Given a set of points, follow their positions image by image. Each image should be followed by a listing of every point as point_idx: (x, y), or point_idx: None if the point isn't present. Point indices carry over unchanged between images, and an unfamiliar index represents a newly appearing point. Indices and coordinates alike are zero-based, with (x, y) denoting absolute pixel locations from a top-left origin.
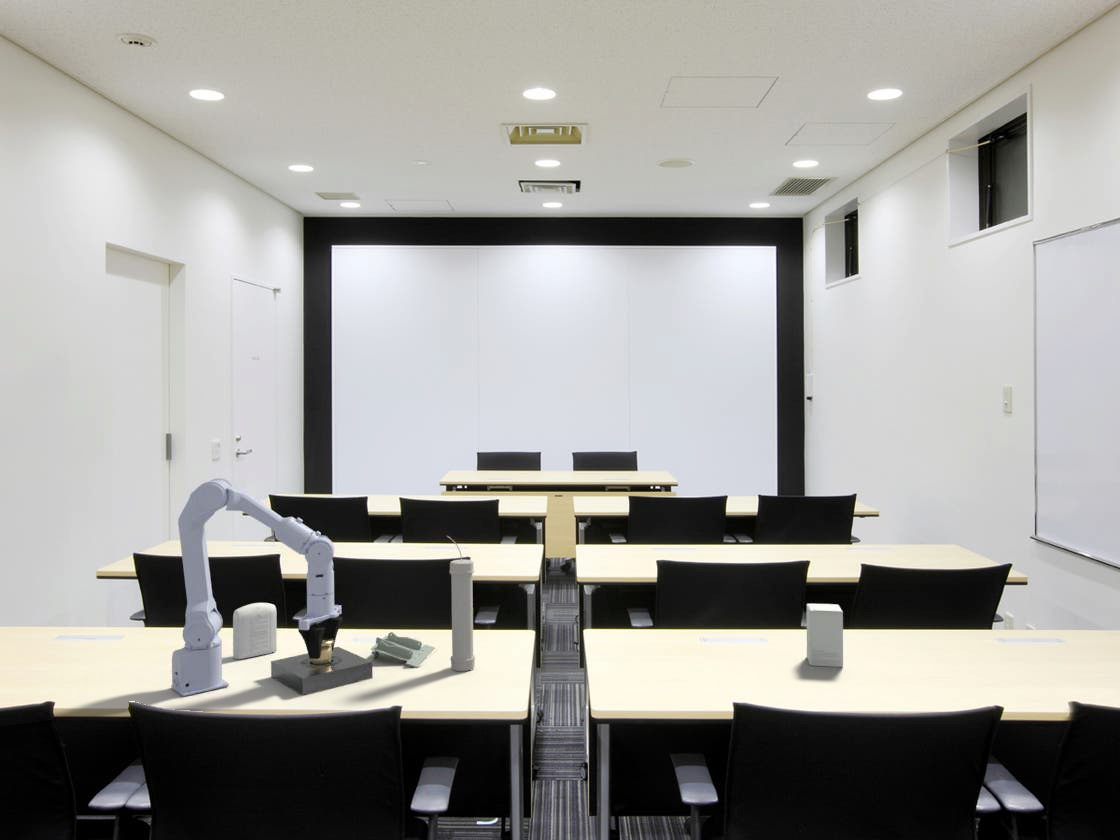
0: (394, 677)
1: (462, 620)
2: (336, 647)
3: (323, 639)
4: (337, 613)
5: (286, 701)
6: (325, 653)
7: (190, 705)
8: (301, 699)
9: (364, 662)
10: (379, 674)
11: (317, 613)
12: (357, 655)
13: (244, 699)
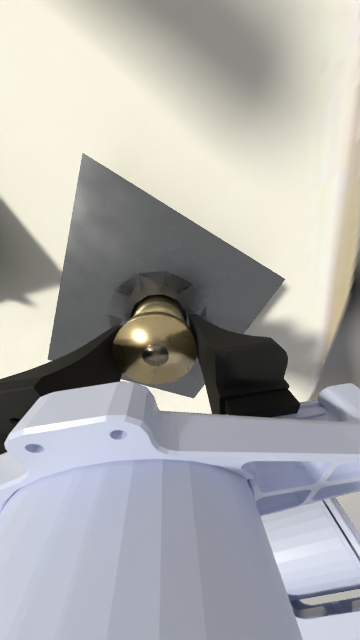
0: (58, 87)
1: None
2: (55, 358)
3: (144, 355)
4: (51, 430)
5: (293, 280)
6: (171, 311)
7: (307, 383)
8: (282, 260)
9: (105, 185)
10: (70, 176)
11: (262, 525)
12: (64, 265)
13: (285, 346)
